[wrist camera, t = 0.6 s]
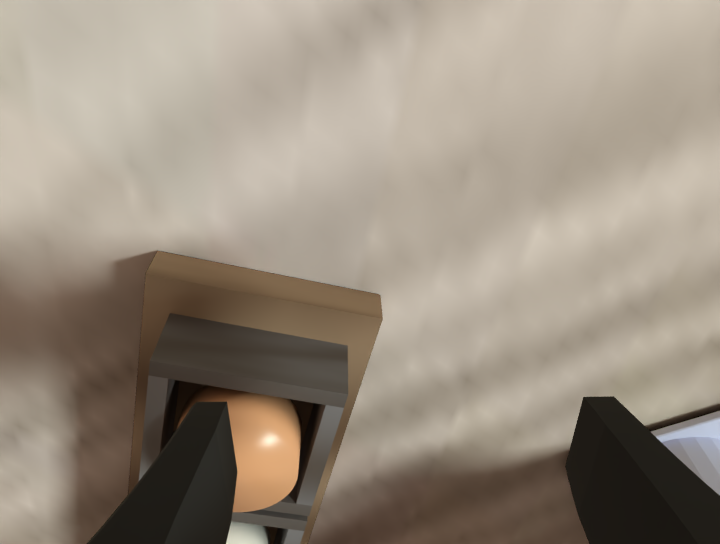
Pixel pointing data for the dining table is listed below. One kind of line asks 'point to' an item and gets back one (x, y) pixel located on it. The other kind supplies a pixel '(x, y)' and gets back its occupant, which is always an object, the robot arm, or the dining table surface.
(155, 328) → the button panel
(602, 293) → the dining table surface
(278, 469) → the terracotta button
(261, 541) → the cream button
